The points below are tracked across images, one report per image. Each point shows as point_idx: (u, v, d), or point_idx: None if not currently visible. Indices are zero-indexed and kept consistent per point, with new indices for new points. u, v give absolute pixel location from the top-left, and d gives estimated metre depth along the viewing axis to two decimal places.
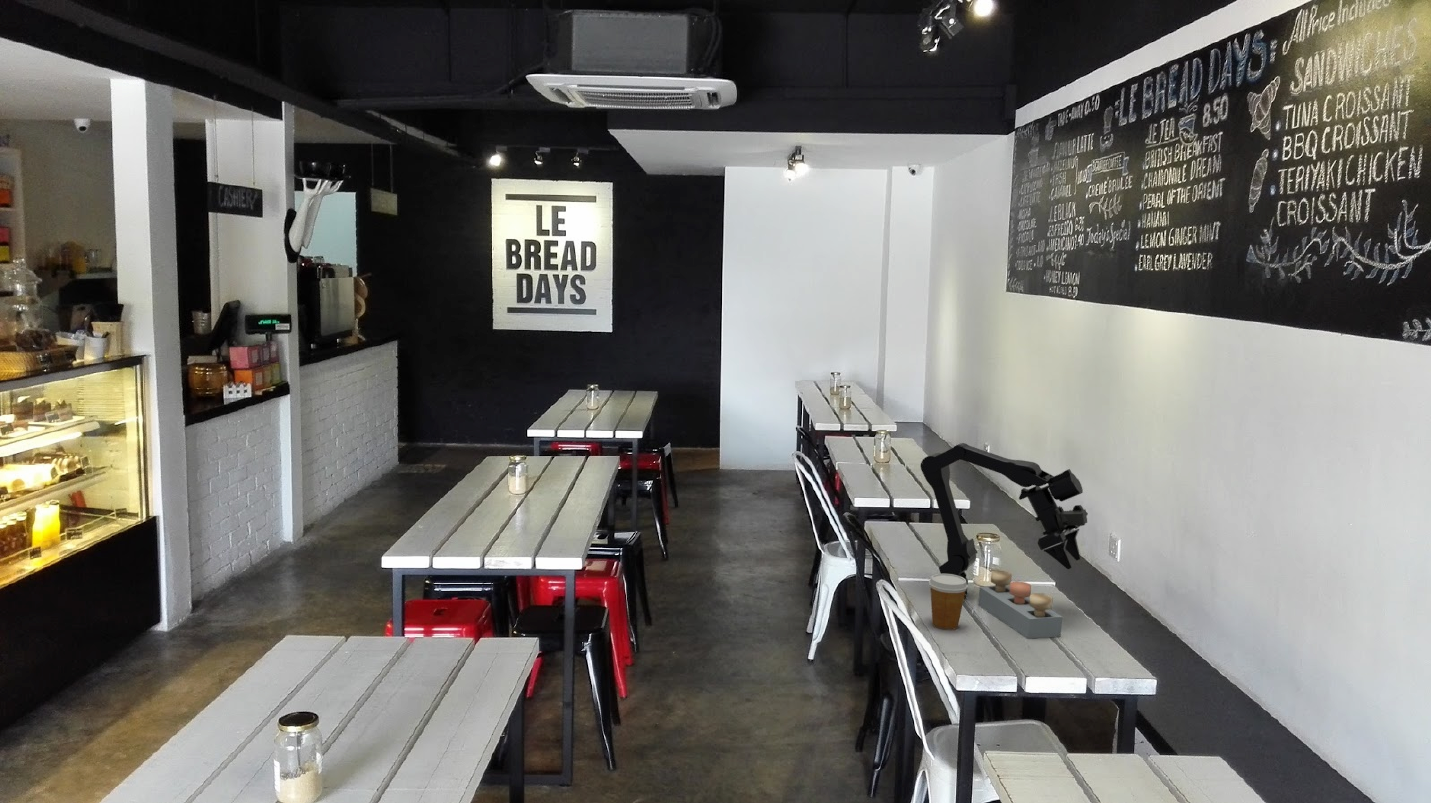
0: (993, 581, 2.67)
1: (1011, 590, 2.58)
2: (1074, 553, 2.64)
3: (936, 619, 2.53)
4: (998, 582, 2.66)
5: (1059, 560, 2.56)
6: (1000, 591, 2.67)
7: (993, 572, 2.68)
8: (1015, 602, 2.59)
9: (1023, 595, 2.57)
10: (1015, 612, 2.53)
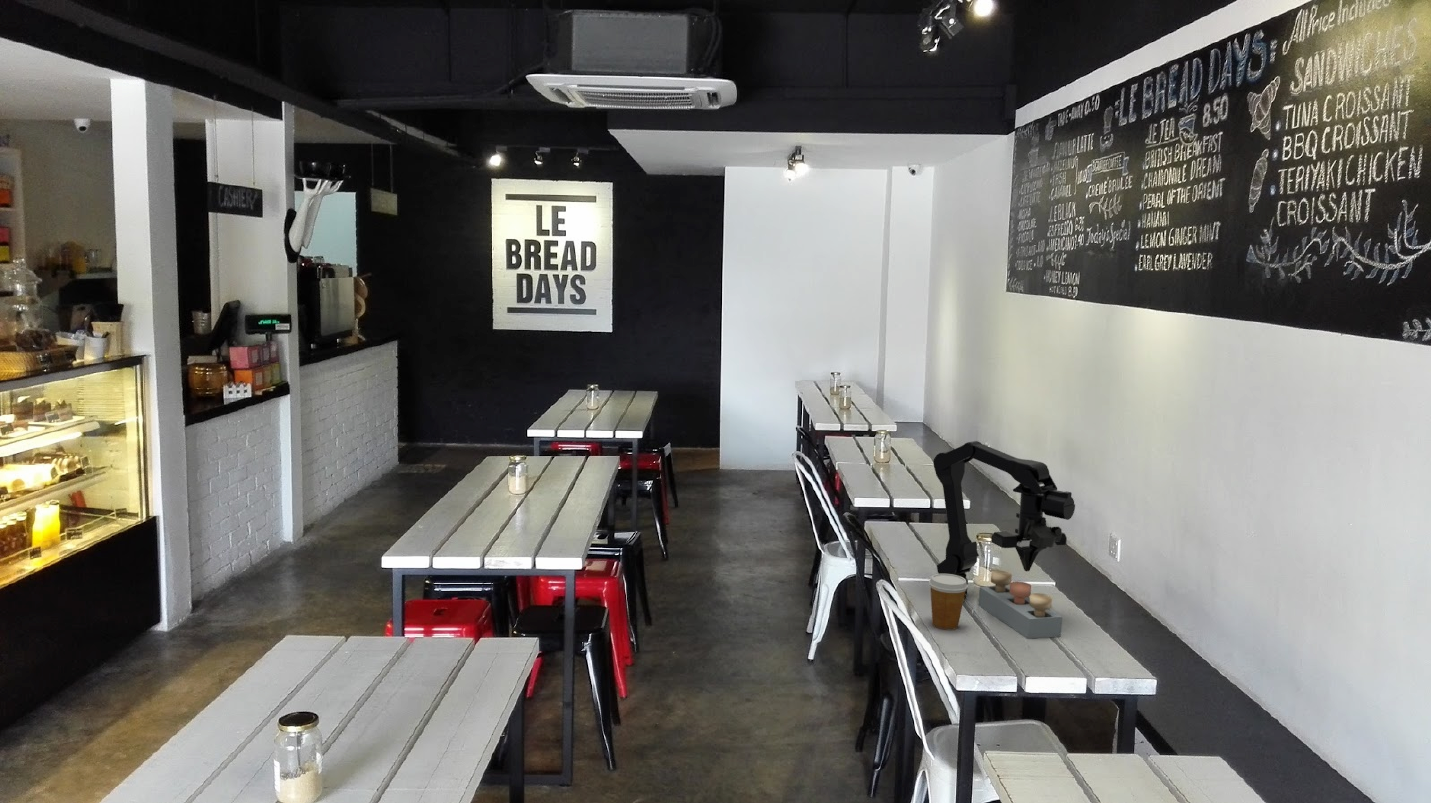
0: (993, 581, 2.67)
1: (1011, 590, 2.58)
2: None
3: (936, 619, 2.53)
4: (998, 582, 2.66)
5: (1020, 559, 2.61)
6: (1000, 591, 2.67)
7: (993, 572, 2.68)
8: (1015, 602, 2.59)
9: (1023, 595, 2.57)
10: (1015, 612, 2.53)
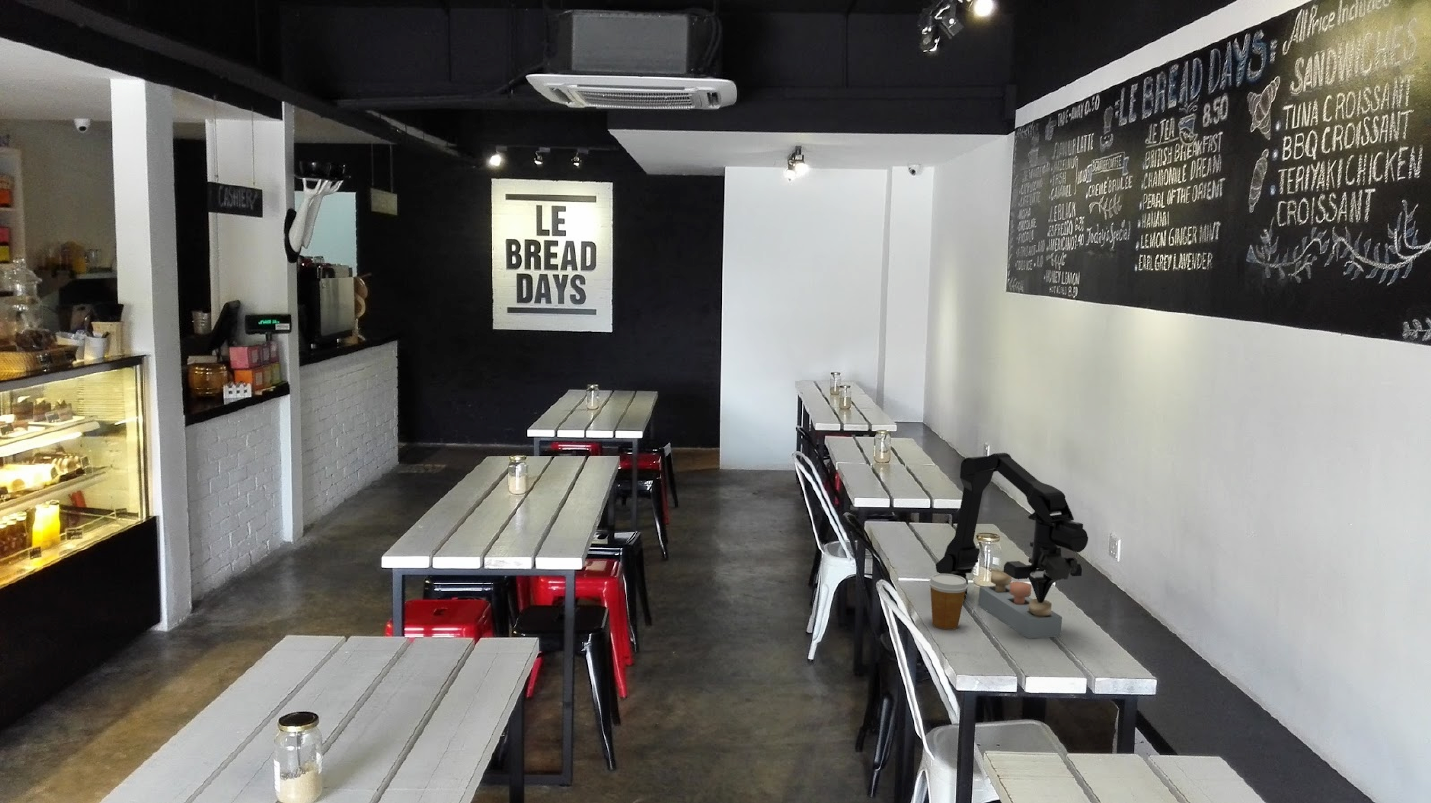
0: (993, 581, 2.67)
1: (1011, 590, 2.58)
2: None
3: (936, 619, 2.53)
4: (998, 582, 2.66)
5: (1034, 589, 2.51)
6: (1000, 591, 2.67)
7: (993, 572, 2.68)
8: (1015, 602, 2.59)
9: (1023, 595, 2.57)
10: (1015, 612, 2.53)
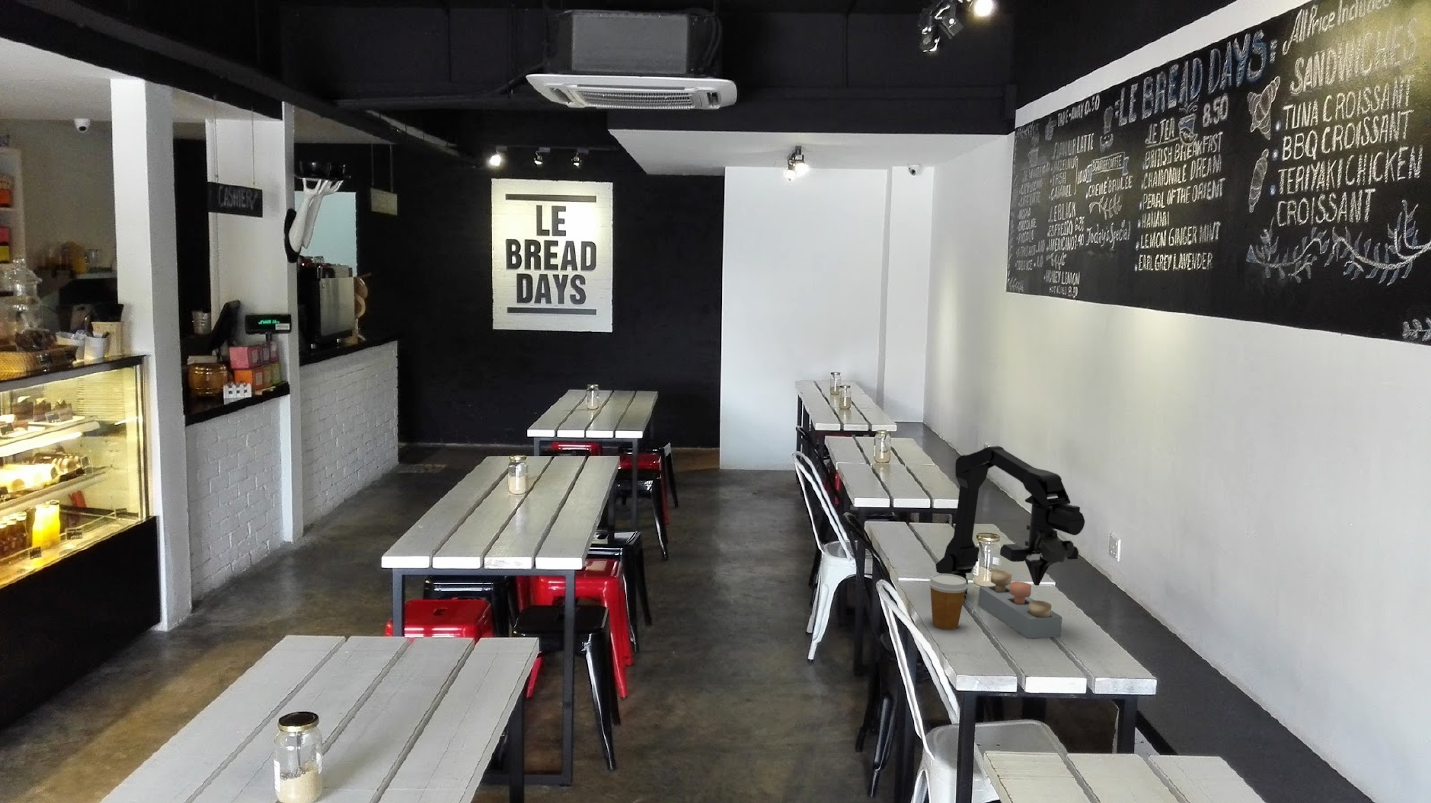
0: (993, 581, 2.67)
1: (1011, 590, 2.58)
2: None
3: (936, 619, 2.53)
4: (998, 582, 2.66)
5: (1030, 572, 2.52)
6: (1000, 591, 2.67)
7: (993, 572, 2.68)
8: (1015, 602, 2.59)
9: (1023, 595, 2.57)
10: (1015, 612, 2.53)
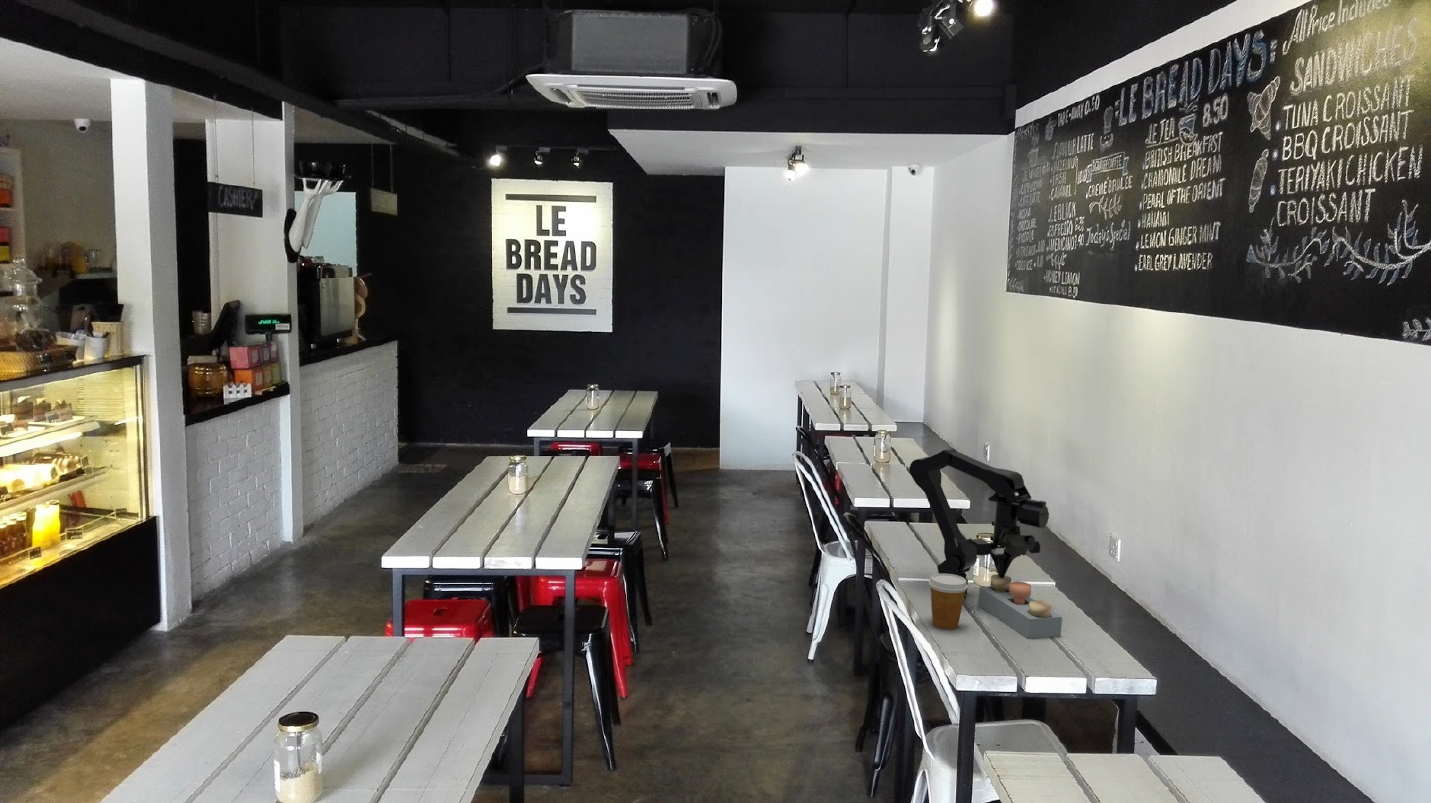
0: (993, 585, 2.67)
1: (1011, 590, 2.58)
2: None
3: (936, 619, 2.53)
4: (998, 586, 2.66)
5: (995, 565, 2.68)
6: None
7: (993, 576, 2.68)
8: (1015, 602, 2.59)
9: (1023, 595, 2.57)
10: (1015, 612, 2.53)
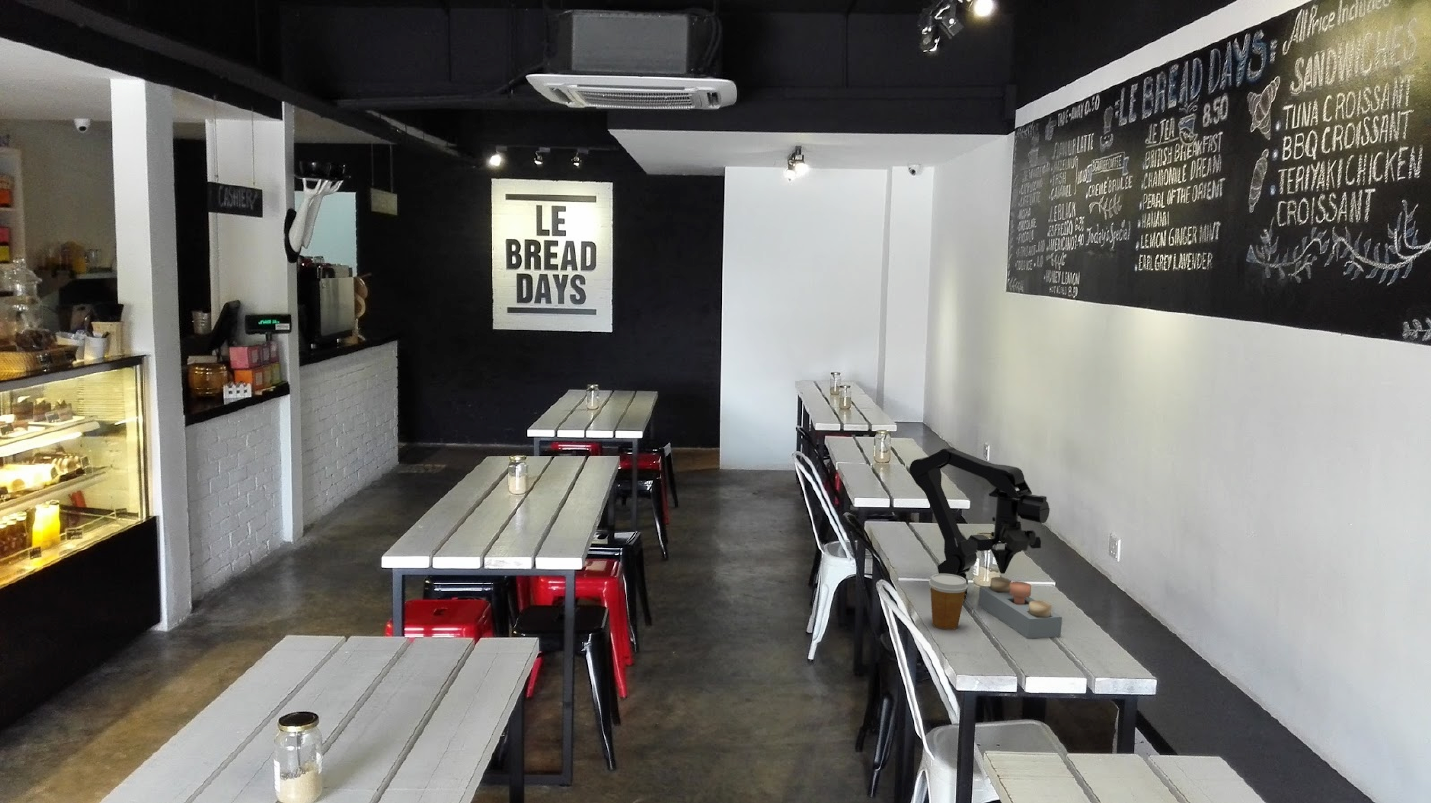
0: (992, 588, 2.67)
1: (1011, 590, 2.58)
2: None
3: (936, 619, 2.53)
4: (998, 589, 2.66)
5: (996, 561, 2.68)
6: None
7: (992, 579, 2.68)
8: (1015, 602, 2.59)
9: (1023, 595, 2.57)
10: (1015, 612, 2.53)
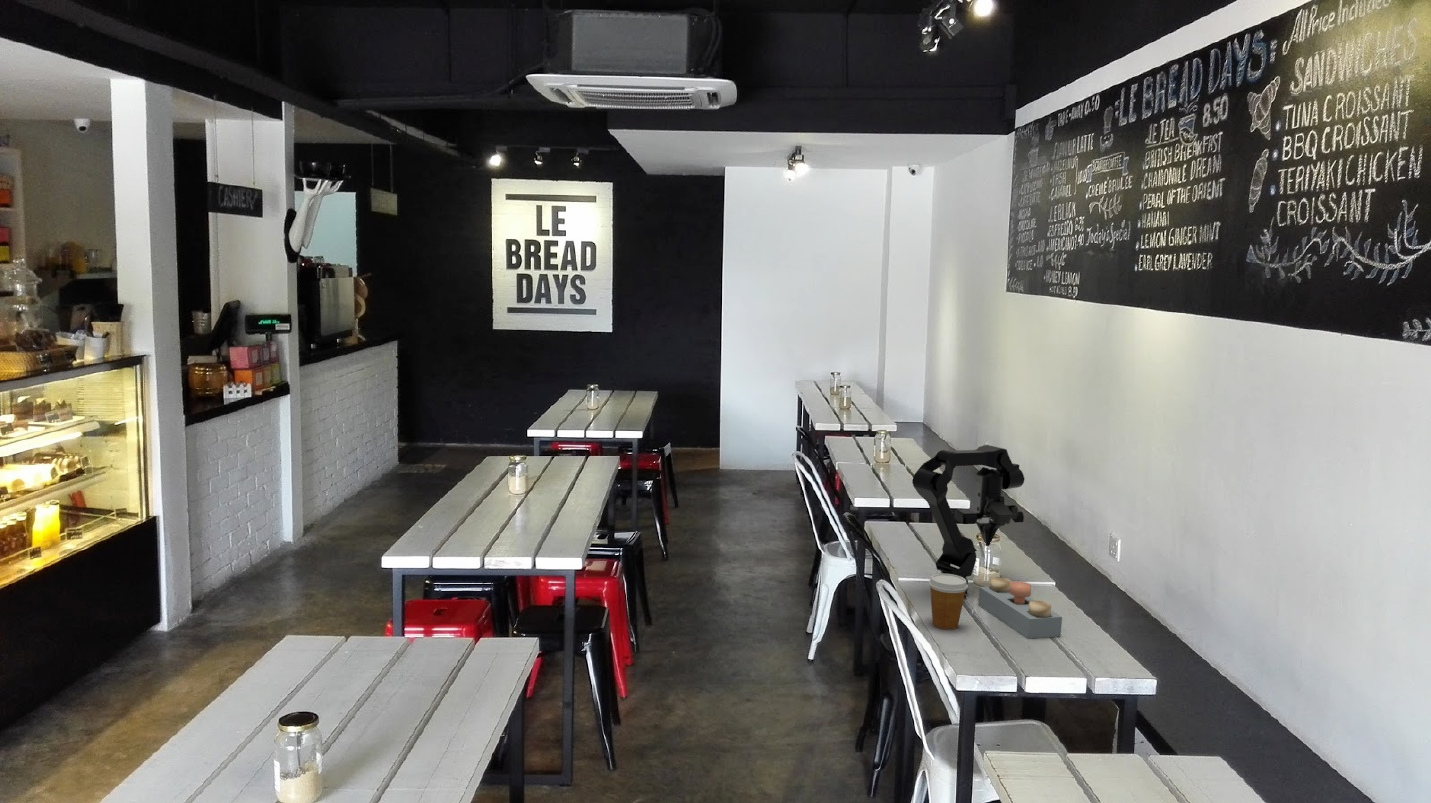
0: (992, 588, 2.67)
1: (1011, 590, 2.58)
2: None
3: (936, 619, 2.53)
4: (998, 589, 2.66)
5: (981, 534, 2.84)
6: None
7: (992, 579, 2.68)
8: (1015, 602, 2.59)
9: (1023, 595, 2.57)
10: (1015, 612, 2.53)
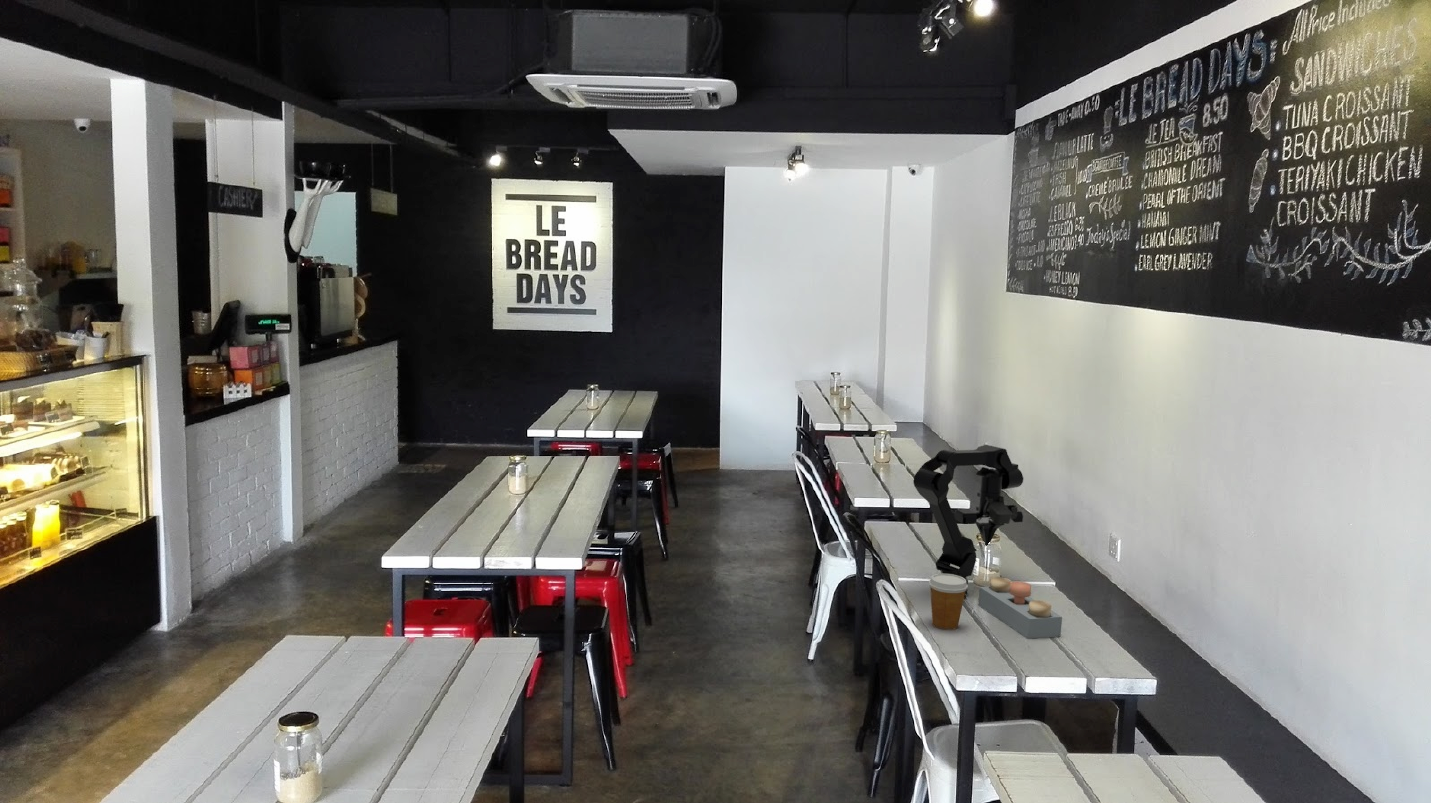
0: (992, 588, 2.67)
1: (1011, 590, 2.58)
2: None
3: (936, 619, 2.53)
4: (998, 589, 2.66)
5: (981, 534, 2.84)
6: None
7: (992, 579, 2.68)
8: (1015, 602, 2.59)
9: (1023, 595, 2.57)
10: (1015, 612, 2.53)
